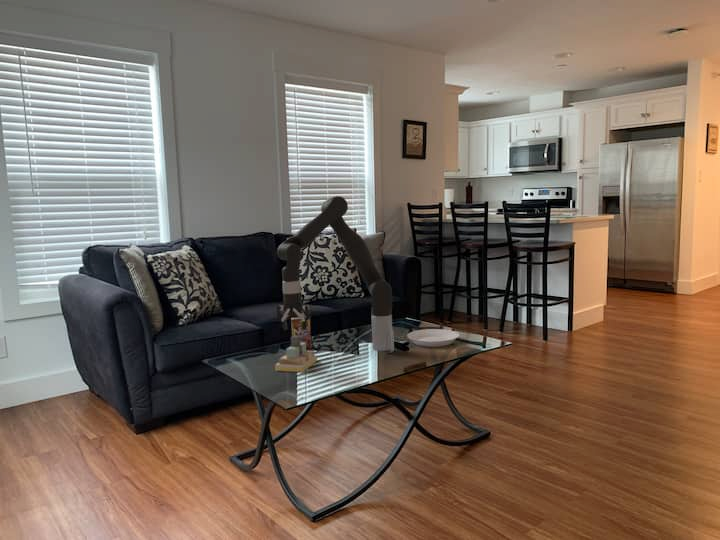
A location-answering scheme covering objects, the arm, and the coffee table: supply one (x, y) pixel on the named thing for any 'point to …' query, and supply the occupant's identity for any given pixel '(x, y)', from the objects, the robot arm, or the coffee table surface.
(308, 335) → the candy box
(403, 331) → the coffee table surface
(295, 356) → the block
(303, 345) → the block
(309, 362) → the block
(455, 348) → the coffee table surface
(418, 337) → the white plate
